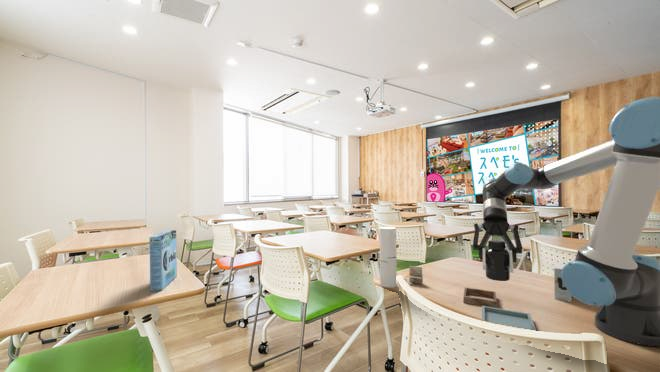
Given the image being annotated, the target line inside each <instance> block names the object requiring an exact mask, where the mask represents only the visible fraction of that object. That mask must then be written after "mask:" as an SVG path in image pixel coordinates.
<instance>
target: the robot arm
mask: <svg viewBox="0 0 660 372" xmlns="http://www.w3.org/2000/svg"><path fill="white" fill-rule="evenodd" d="M608 132H609V135H610V137H611V138H612V139H610V140H608V141H605V142H603V143H600V144H598V145H595V146H592V147H589V148H586V149H584V150H582V151H579V152H576V153H574V154H572V155H569V156H567V157H564V158H561V159H559V160H556V161H553V162H550V163H548V164H546V165H543V166H541V167H537V168H531V167H530V166H528V165H527V164H525V163H522V162H516V163H514V164H512V165H511V166H509V167H507V169H505V170H504V172H502V173H501V174H500V175H499V176H498V177H496V178H491V179H487V180H486V181H484V183H483V185H482V209H483V210H482V212H483V213H482V218H483V219H482V220H483V222H482V223H481V224H478V223H473V227H474V228H473V230H474V236H473V240H472V248H473V250H474V251H478V258H479V260H482V270H484V271H486V259H485V251H486V246H487V245H488V244H487V243H488V241H490V238H491V236H492V237H493V236H499V237H501V238H502V240H503V242H505V246H506V248H508V253H509V263H510V274H511V273H512V274H514V263H517V260H518V259H517V254H522V253H523V244H522V242H521V241H522V240H521V238H520V237H521V236H520V233H519V227H520V226H519V224H515V225H511V224H510V223H509V221H508V214H507V212H508V210H507V203H506V202H507V201H506V199H507V198H509V197H510V196H511V195H512V194H514V193H515V192H516V191H518V190H547V189H549V190H550V189H552V188H554V187H555V186H556V185H557V184H561V183H564V182H567V181H571V180H573V179H576V178H580V177H584V176H587V175H590V174H593V173H596V172H599V171H600V172H601V171H602V170H606V169H609V168H612V167H614V170H613V171H612V175H611V178H610V180H609V184H608V187H607V189H606V192H605V195H604V198H603V201H602V204H601V207H600V210H599V212H598V215H597V217H596V221H595V223H594V226H593V230H592V232H591V234H590V238H589V241H588V243H587V244H585V245H581V246H579V248H578V250H577V253H576V255H575V259H574V260H573V261H570V262H567V263H566V264H564V265H565V266H564V267H563V269H562V272H561V277H562V281H563V284H564V285H565V286H566V288H567V290H568V292H569V293H570V294H571V295H572V296H573V297H572V298H575V299H576V300H577V301H579V302H581V303H583V304H585V305H589V306H593V307H595V306H596V307H597V306H598V309H597V311H596V313H595V315H594V326H595V327H596V329H598V330H600V331H601V332H602V333H604V334H607V335H609V336H610V337H611V336H612V337H613V338H615V339H619V340H622V341H625V340H626V341H625V342H628V341H631V342H630V343H632V342H635V343H634V344H636V343H639V344H638V345H640V344H643V345H642V346H645V345H649V346H648V347H652V346H658V347H657V348H660V261H659V260H658V259H657V258H655V257H652V256H650V255H649V256H648V255H645V254H644V255H642V254H639V253H635V251H636V248H637V246H638V243H639V240H640V238H641V235H642V233H643V231H644V228H645V225H646V224H647V221H648V219H649V216H650V213H651V212H652V208H653V205H654V203H655V200H656V199H657V195H658V193H659V191H660V97H659V96H658V97H657V96H656V97H655V96H654V97H653V96H652V97H644V98H641V99H638V100H634V101H632V102H631V103H629V104H626V106H624V107H622V108H620V109H619V110H618V111H617V112H616V114H615V115H614V116H613V118H612V119H611V121H610V123H609V130H608ZM482 229H483V230H484V231H485V233H484V235H483V237H482V239H481V241H480V243H479V238H480V232H481V231H482ZM509 230H510V232H511V233H512V234H513V240H514V243H515V245H514V243H513V242H512V240H511V238H510V237H509V235H508V233H507V231H509Z"/></svg>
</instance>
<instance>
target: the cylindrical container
mask: <svg viewBox="0 0 660 372" xmlns="http://www.w3.org/2000/svg"><path fill="white" fill-rule="evenodd" d="M378 234H379V285H380V287H382V288H396V287H397V286H398V285H397V284H398V283H396V276H397V273H398V272H397V271H398V270H397V228H396V226H380V227H379V233H378ZM397 277H398V276H397Z"/></svg>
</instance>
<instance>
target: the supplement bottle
mask: <svg viewBox="0 0 660 372" xmlns="http://www.w3.org/2000/svg"><path fill="white" fill-rule="evenodd" d="M487 243H488V244H487V247H488V248H487V249H485V259H486V270H485V277H486V278H487V279H489V280H492V281H497V282H508V281H509V280H510V279H511V276H510V275H511V273H510V263H509V250H506V248H507V245H506V243H505V242H504V240H503V241H501V240H488V242H487Z"/></svg>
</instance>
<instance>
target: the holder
mask: <svg viewBox="0 0 660 372" xmlns="http://www.w3.org/2000/svg"><path fill="white" fill-rule="evenodd" d="M468 295H472V296H473V295H474V296H480V297H487V298H493V300H492V299H487V298H479V297H472V296H468ZM462 300H463V303H465V304H470V305H476V306H481V307H482V306H487V307H493V308H498V307H497V306H498V302H497V293H496V291H493V290H486V289H478V288H472V287H471V288H470V287H466V286H465V287H464V290H463V299H462Z"/></svg>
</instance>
